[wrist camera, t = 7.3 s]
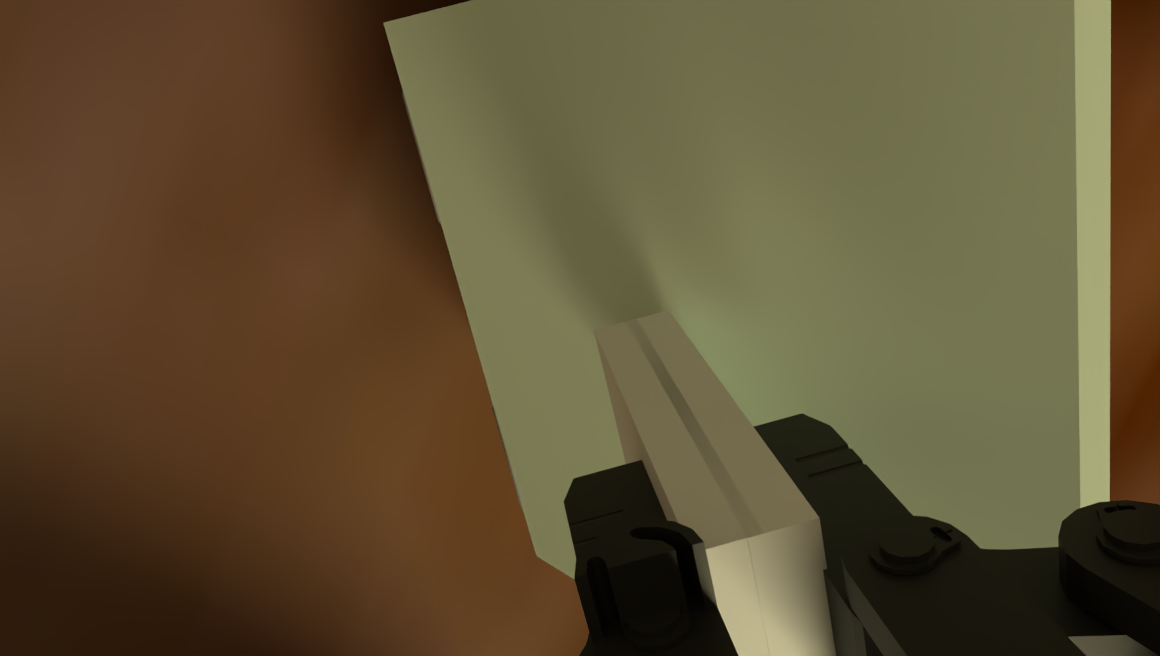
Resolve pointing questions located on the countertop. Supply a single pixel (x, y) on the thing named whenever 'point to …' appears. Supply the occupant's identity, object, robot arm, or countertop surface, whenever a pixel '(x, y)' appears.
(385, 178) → the countertop surface
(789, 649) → the robot arm
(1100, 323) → the lid
